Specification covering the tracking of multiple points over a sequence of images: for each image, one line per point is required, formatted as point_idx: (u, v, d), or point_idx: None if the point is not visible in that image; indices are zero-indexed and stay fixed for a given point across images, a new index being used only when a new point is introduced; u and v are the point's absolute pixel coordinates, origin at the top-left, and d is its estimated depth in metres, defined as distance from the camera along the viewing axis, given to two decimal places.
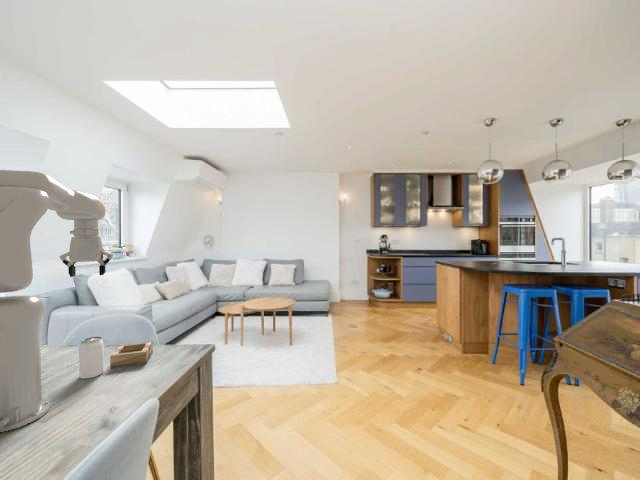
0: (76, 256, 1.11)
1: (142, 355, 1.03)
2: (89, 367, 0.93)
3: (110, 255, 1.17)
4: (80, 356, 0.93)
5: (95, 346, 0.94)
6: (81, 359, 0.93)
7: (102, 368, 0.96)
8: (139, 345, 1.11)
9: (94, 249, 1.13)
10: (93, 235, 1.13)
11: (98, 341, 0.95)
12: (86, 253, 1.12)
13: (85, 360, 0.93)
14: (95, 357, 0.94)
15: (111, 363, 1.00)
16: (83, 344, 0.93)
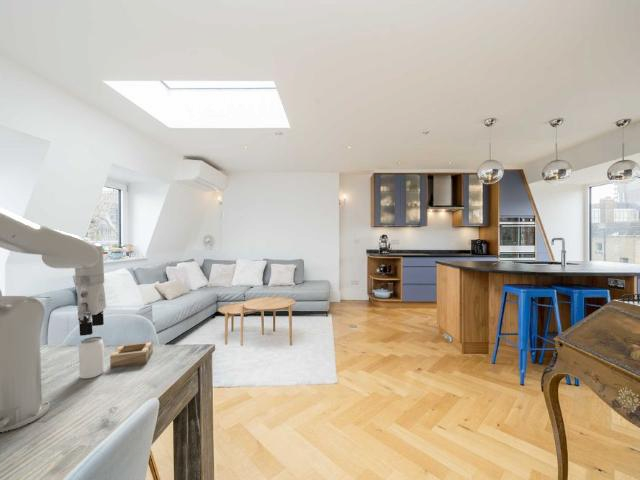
0: (98, 307, 0.95)
1: (142, 355, 1.03)
2: (89, 367, 0.93)
3: None
4: (80, 356, 0.93)
5: (95, 346, 0.94)
6: (81, 359, 0.93)
7: (102, 368, 0.96)
8: (139, 345, 1.11)
9: (104, 295, 1.00)
10: None
11: (98, 341, 0.95)
12: (101, 302, 0.97)
13: (85, 360, 0.93)
14: (95, 357, 0.94)
15: (111, 363, 1.00)
16: (83, 344, 0.93)
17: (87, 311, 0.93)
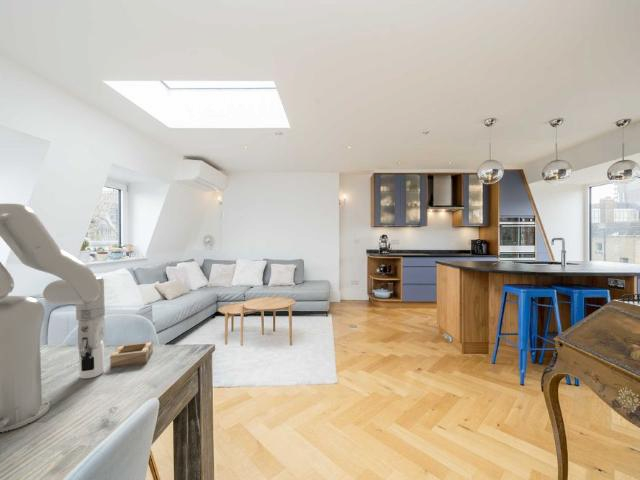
0: (98, 340, 0.95)
1: (142, 355, 1.03)
2: None
3: None
4: (80, 356, 0.93)
5: None
6: None
7: (102, 368, 0.96)
8: (139, 345, 1.11)
9: (104, 327, 1.00)
10: None
11: None
12: (101, 334, 0.97)
13: None
14: (95, 357, 0.94)
15: (111, 363, 1.00)
16: None
17: (87, 345, 0.93)
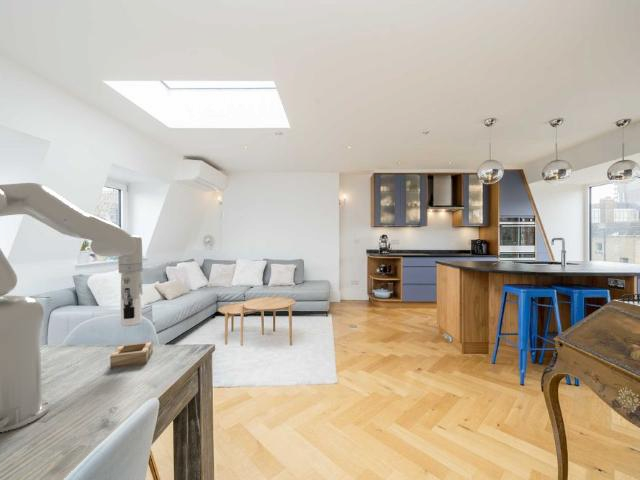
0: (138, 292, 1.05)
1: (142, 355, 1.03)
2: None
3: None
4: (122, 305, 1.03)
5: None
6: (123, 308, 1.03)
7: (140, 318, 1.07)
8: (139, 345, 1.11)
9: (141, 283, 1.10)
10: None
11: None
12: (140, 288, 1.08)
13: None
14: (135, 307, 1.04)
15: (111, 363, 1.00)
16: None
17: (128, 296, 1.03)
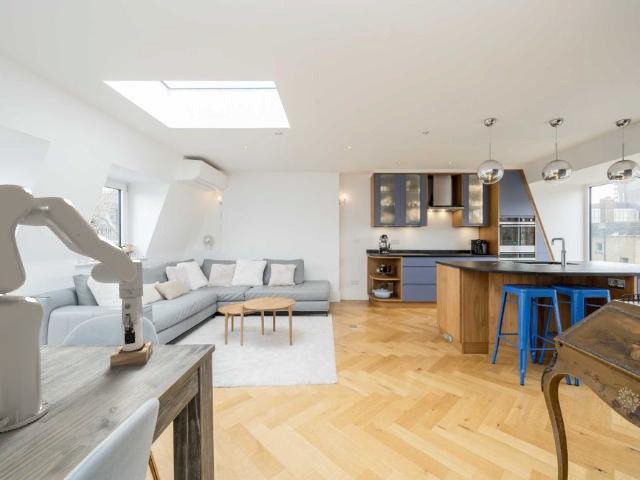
0: (138, 317, 1.05)
1: (142, 355, 1.03)
2: None
3: None
4: (123, 331, 1.04)
5: None
6: None
7: (141, 343, 1.07)
8: None
9: (142, 307, 1.11)
10: None
11: None
12: (140, 312, 1.08)
13: None
14: (136, 332, 1.05)
15: (111, 363, 1.00)
16: None
17: (129, 321, 1.04)
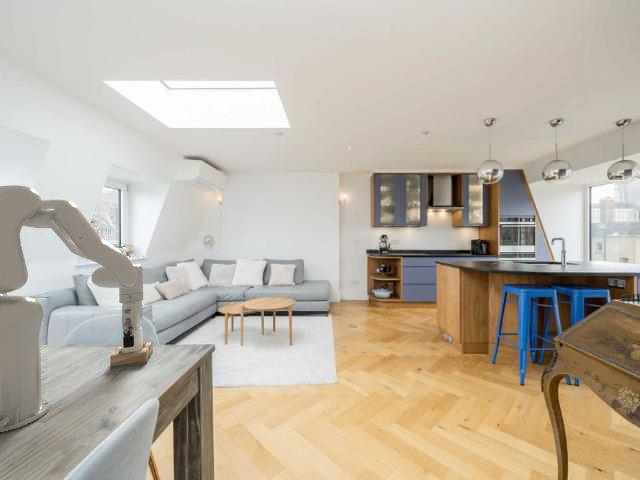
0: (138, 322, 1.05)
1: (142, 355, 1.03)
2: (131, 350, 1.04)
3: None
4: None
5: (136, 331, 1.05)
6: None
7: None
8: None
9: (142, 311, 1.11)
10: None
11: None
12: (140, 317, 1.08)
13: None
14: (136, 341, 1.05)
15: (111, 363, 1.00)
16: None
17: (129, 325, 1.04)
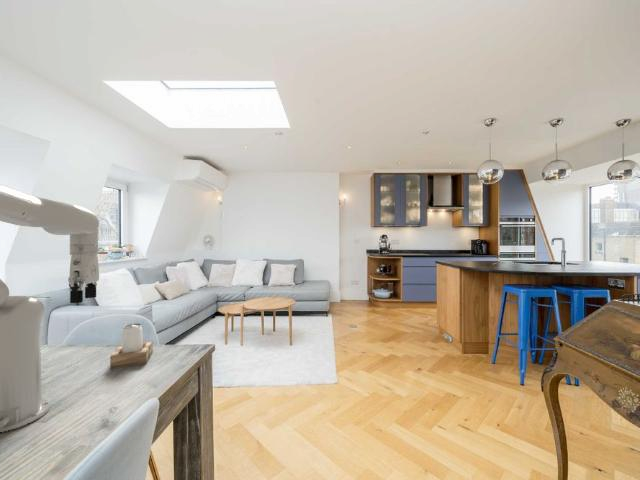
0: (90, 276, 0.96)
1: (142, 355, 1.03)
2: (131, 350, 1.04)
3: None
4: (123, 340, 1.04)
5: (136, 331, 1.05)
6: (124, 343, 1.04)
7: None
8: None
9: (97, 268, 1.01)
10: None
11: (138, 327, 1.07)
12: (94, 273, 0.99)
13: (128, 343, 1.04)
14: (136, 341, 1.05)
15: (111, 363, 1.00)
16: (126, 329, 1.04)
17: (79, 280, 0.94)
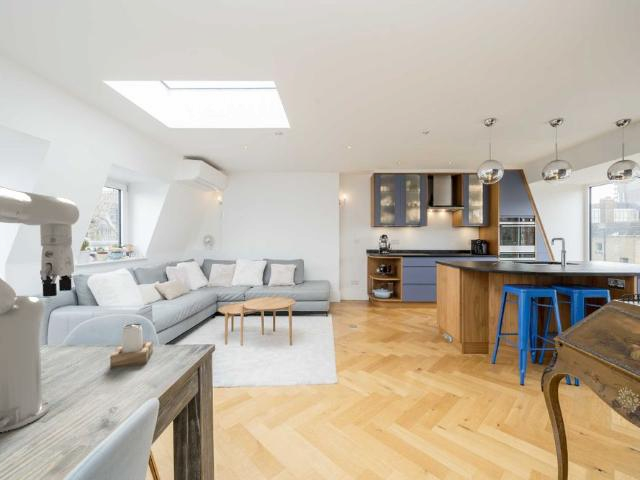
0: (64, 269, 0.92)
1: (142, 355, 1.03)
2: (131, 350, 1.04)
3: None
4: (123, 340, 1.04)
5: (136, 331, 1.05)
6: (124, 343, 1.04)
7: None
8: None
9: (72, 259, 0.97)
10: None
11: (138, 327, 1.07)
12: (68, 265, 0.95)
13: (128, 343, 1.04)
14: (136, 341, 1.05)
15: (111, 363, 1.00)
16: (126, 329, 1.04)
17: (52, 272, 0.90)
